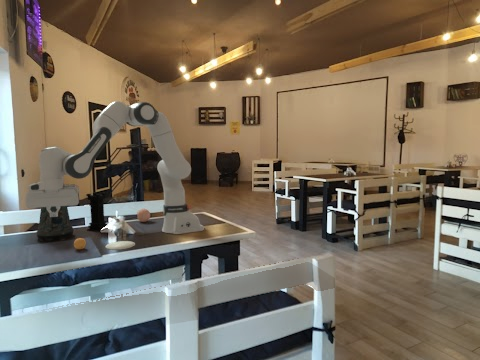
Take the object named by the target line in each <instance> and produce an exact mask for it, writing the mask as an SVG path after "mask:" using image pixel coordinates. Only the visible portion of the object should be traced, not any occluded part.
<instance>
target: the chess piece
mask: <svg viewBox="0 0 480 360" xmlns="http://www.w3.org/2000/svg"><path fill="white" fill-rule="evenodd" d="M106 195H107V192H101V194H100V193H98V191H97V192H96V191H95V192H92V194H91V193H86V195H85V196H86V197H87V201H89V206H90V222H89V223H88V224H89V225H88V227H87V229H86V231H88V232H89V231H90V232H101V231H100V230H101V229H102V228H103V227H105V226H106V225H107V224H108V223H107V220H105V211H104V210H105V207H104V205H105V202H104V200H105V199H106ZM107 226H108V225H107Z"/></svg>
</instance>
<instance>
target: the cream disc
mask: <svg viewBox="0 0 480 360" xmlns="http://www.w3.org/2000/svg"><path fill="white" fill-rule="evenodd" d="M134 246H136V243H135V242H134V241H130V240H122V241H121V240H119V241H114V242H110V243H107V244H106V245H105V249H108V250H112V251H113V250H114V251H116V250H119V251H120V250H126V249H130V248H132V247H134Z"/></svg>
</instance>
